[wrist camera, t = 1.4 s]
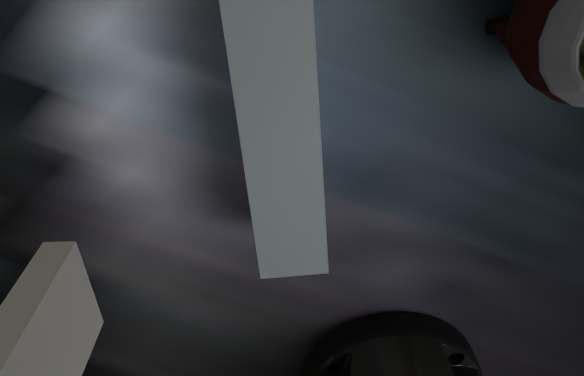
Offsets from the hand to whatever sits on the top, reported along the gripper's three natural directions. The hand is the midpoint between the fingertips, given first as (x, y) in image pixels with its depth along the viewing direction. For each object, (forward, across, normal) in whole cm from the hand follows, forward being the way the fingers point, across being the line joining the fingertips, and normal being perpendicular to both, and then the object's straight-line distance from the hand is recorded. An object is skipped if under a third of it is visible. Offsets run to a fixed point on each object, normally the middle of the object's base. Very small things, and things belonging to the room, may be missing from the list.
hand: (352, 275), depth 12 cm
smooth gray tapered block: (+18, +2, +2) cm, 18 cm away
